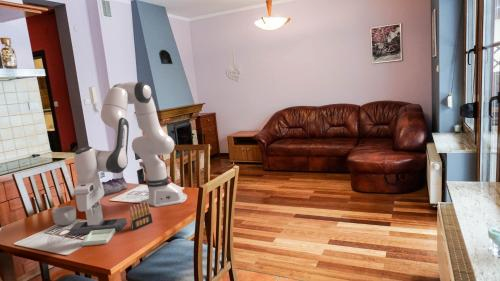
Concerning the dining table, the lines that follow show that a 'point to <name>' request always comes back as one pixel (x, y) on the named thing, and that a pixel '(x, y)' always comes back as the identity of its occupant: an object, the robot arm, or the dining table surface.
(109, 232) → the tray
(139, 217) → the ammunition clip
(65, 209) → the teacup
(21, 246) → the dining table surface
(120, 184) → the geode
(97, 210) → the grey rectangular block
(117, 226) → the rail
